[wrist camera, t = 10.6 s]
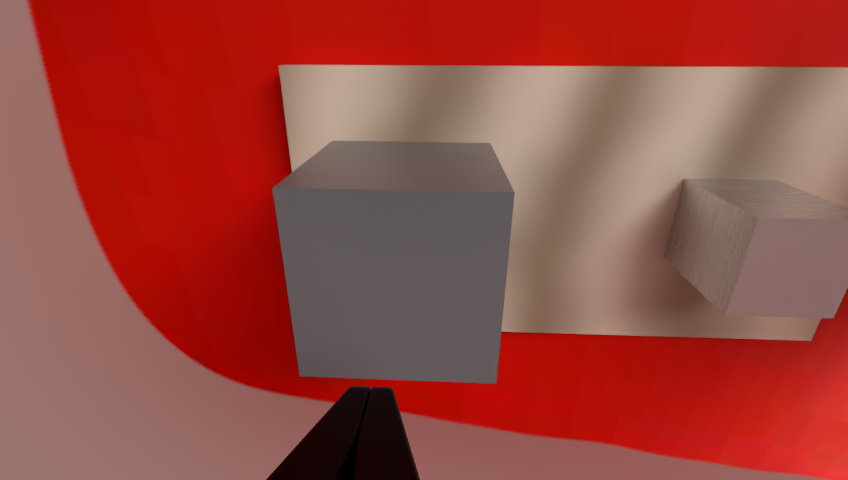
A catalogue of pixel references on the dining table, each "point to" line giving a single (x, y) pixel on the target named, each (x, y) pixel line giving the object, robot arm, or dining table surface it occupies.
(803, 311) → the grey cube
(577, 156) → the board
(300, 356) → the gray matte cube
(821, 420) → the dining table surface
